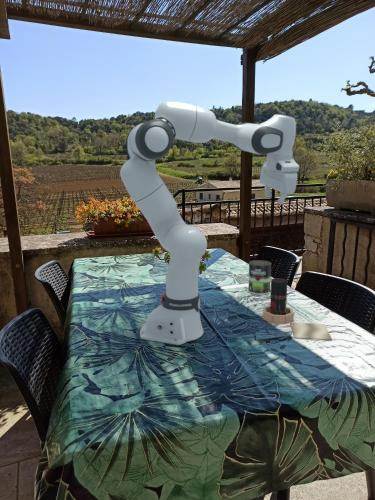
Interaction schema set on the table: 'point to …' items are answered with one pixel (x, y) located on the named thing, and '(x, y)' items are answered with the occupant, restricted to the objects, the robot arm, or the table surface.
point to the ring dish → (278, 316)
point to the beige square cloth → (310, 331)
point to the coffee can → (259, 277)
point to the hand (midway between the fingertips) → (274, 200)
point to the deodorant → (278, 296)
